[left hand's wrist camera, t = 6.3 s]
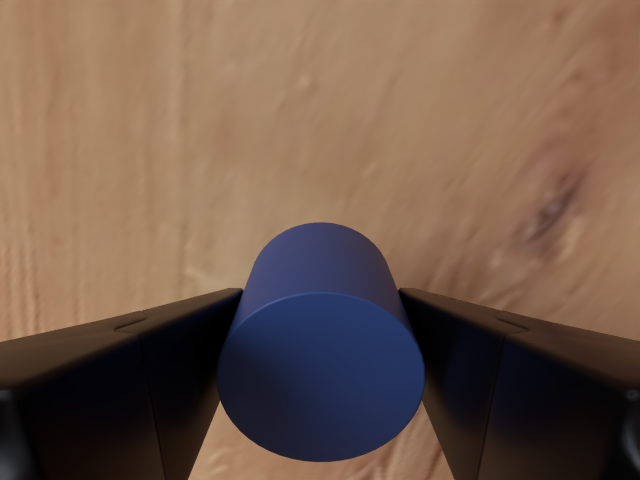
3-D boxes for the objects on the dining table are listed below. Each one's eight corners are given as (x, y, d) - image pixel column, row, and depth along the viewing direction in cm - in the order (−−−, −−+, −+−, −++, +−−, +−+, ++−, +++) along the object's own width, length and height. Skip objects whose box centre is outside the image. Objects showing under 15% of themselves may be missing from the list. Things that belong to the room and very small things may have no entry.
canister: (242, 337, 13) (207, 449, 9) (259, 210, 11) (225, 275, 7) (374, 357, 13) (397, 474, 9) (406, 235, 12) (452, 310, 8)
